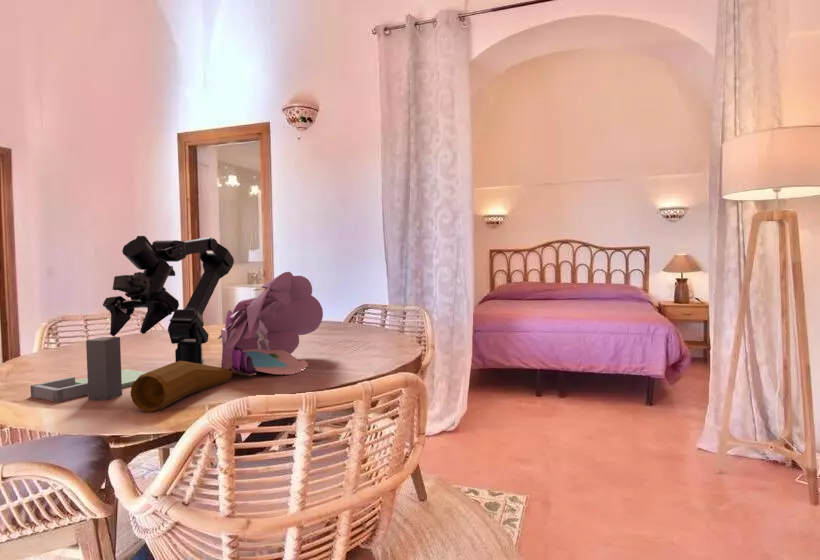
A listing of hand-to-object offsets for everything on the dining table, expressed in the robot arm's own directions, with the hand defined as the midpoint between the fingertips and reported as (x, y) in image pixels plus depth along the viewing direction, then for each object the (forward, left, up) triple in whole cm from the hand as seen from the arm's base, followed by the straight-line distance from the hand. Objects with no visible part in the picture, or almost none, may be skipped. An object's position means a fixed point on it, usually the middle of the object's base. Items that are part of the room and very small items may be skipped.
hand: (126, 334), depth 116 cm
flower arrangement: (-33, -8, -13) cm, 37 cm away
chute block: (+3, +9, -13) cm, 15 cm away
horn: (-14, +13, -13) cm, 23 cm away
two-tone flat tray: (+7, -2, -13) cm, 15 cm away
